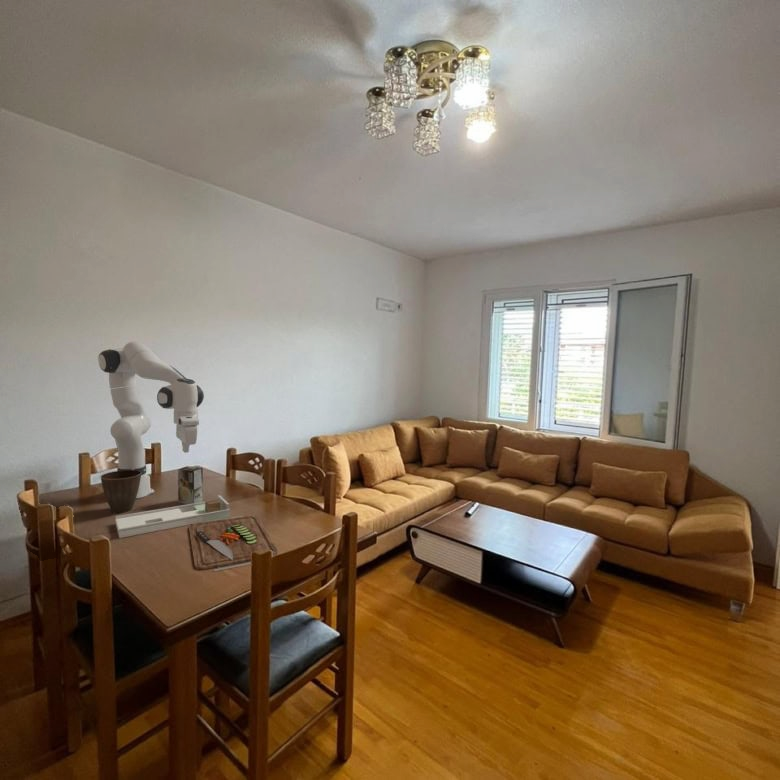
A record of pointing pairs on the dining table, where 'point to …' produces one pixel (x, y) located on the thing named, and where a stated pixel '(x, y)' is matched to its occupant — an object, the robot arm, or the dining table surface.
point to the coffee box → (190, 485)
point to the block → (212, 505)
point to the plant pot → (121, 489)
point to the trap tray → (168, 518)
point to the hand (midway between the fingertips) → (185, 451)
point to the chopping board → (228, 542)
